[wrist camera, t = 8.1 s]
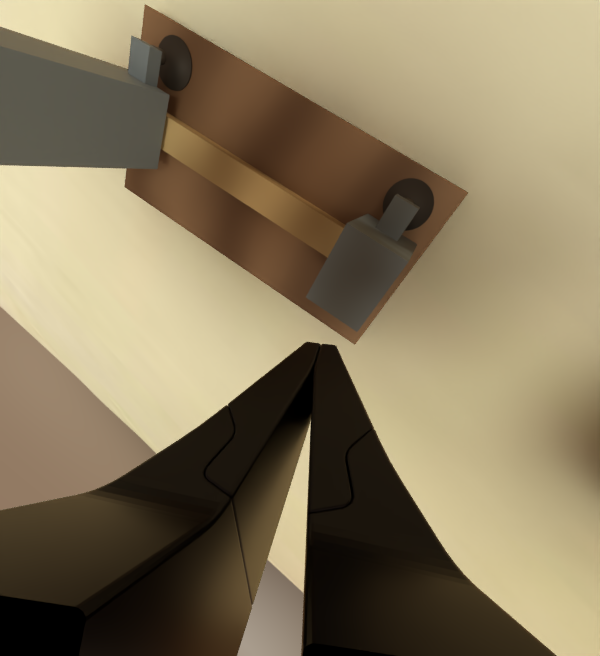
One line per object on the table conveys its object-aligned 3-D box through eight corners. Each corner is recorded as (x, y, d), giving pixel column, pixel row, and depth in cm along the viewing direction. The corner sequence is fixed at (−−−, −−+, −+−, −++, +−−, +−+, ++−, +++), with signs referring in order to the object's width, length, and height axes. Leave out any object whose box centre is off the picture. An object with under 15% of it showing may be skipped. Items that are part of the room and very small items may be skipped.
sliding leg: (184, 62, 16) (-187, -97, 7) (164, 169, 20) (-109, 162, 10) (141, 36, 17) (-268, -149, 7) (129, 145, 20) (-168, 116, 10)
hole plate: (466, 191, 15) (473, 197, 11) (359, 336, 21) (335, 378, 16) (162, 13, 18) (68, -39, 13) (138, 186, 23) (67, 188, 19)
